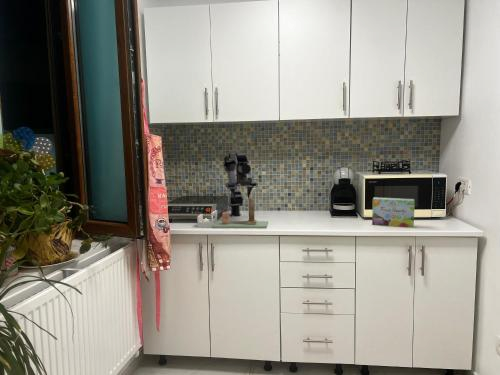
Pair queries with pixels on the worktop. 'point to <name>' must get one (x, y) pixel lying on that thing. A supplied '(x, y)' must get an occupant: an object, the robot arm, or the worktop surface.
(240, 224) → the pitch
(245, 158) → the robot arm
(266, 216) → the worktop surface
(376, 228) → the worktop surface
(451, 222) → the worktop surface
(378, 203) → the snack box
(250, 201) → the post with bar block
